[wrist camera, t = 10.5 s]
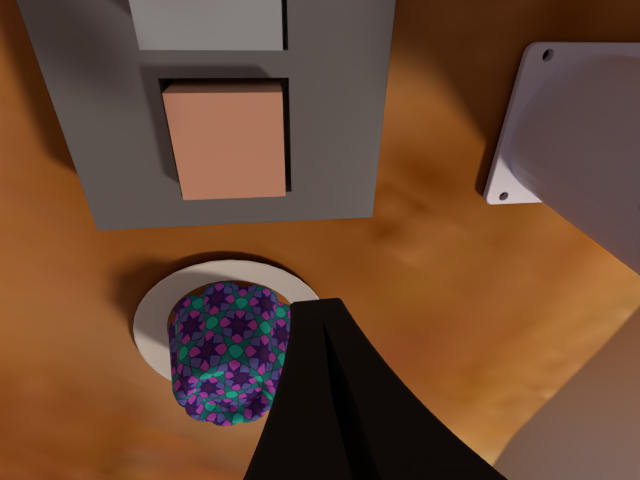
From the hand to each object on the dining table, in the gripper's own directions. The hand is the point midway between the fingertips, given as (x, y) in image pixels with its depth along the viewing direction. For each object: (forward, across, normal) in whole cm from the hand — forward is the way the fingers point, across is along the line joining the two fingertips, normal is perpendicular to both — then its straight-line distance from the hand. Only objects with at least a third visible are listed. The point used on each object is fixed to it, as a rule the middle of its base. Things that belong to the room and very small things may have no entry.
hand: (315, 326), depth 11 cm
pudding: (+11, +4, +11) cm, 16 cm away
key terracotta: (+10, +2, -3) cm, 10 cm away
